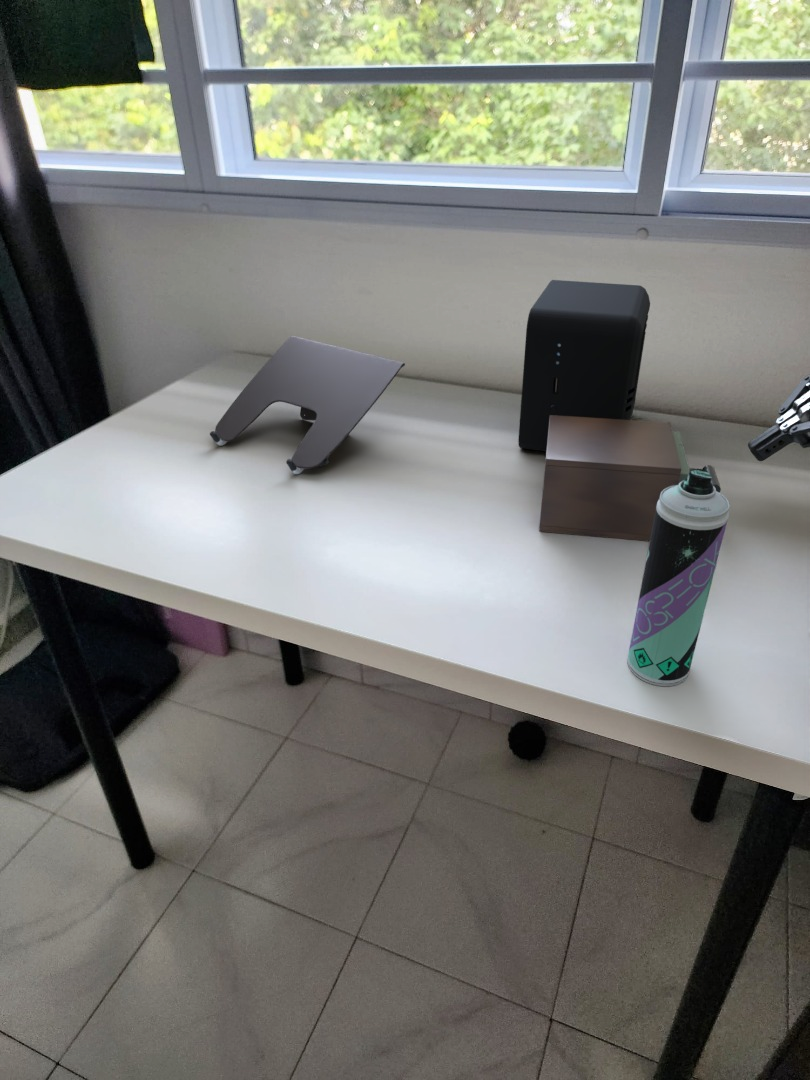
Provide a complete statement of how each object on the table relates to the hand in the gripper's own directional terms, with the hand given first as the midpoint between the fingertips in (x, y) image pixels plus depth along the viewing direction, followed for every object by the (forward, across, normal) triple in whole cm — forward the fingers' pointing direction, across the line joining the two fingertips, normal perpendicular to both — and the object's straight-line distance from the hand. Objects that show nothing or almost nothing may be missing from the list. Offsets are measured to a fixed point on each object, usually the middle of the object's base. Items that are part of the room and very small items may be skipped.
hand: (753, 453), depth 85 cm
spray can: (+15, +27, -2) cm, 31 cm away
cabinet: (+18, -1, -4) cm, 18 cm away
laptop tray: (+48, -17, -35) cm, 62 cm away
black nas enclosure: (+19, -24, -6) cm, 32 cm away
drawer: (+14, -1, -2) cm, 15 cm away
